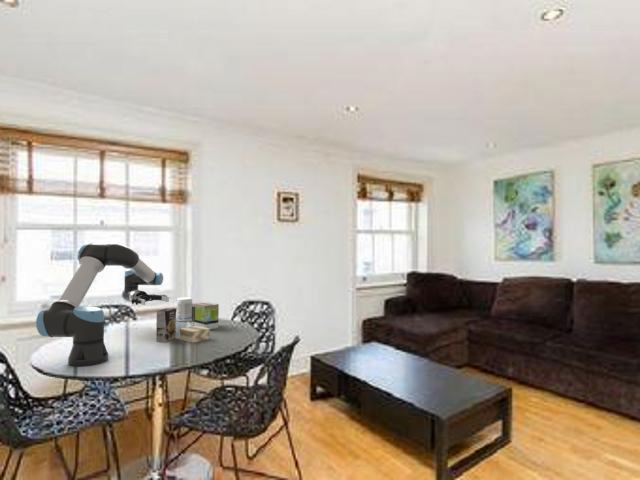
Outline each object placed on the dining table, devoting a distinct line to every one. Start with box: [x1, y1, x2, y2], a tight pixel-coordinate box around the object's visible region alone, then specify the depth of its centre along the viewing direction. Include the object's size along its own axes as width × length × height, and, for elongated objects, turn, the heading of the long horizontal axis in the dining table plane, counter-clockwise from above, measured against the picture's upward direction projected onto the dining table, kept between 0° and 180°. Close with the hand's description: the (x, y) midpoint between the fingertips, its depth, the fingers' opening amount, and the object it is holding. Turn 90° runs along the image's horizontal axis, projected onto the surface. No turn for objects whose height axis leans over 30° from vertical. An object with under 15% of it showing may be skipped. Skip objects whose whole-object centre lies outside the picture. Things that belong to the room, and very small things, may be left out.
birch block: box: [179, 325, 211, 344], centre depth 216 cm, size 11×11×6 cm
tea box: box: [191, 301, 220, 330], centre depth 245 cm, size 15×10×15 cm
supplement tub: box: [176, 297, 193, 323], centre depth 266 cm, size 10×10×15 cm
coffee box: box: [155, 308, 177, 343], centre depth 215 cm, size 9×6×16 cm
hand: (156, 300), depth 222 cm, fingers open, 13 cm apart
